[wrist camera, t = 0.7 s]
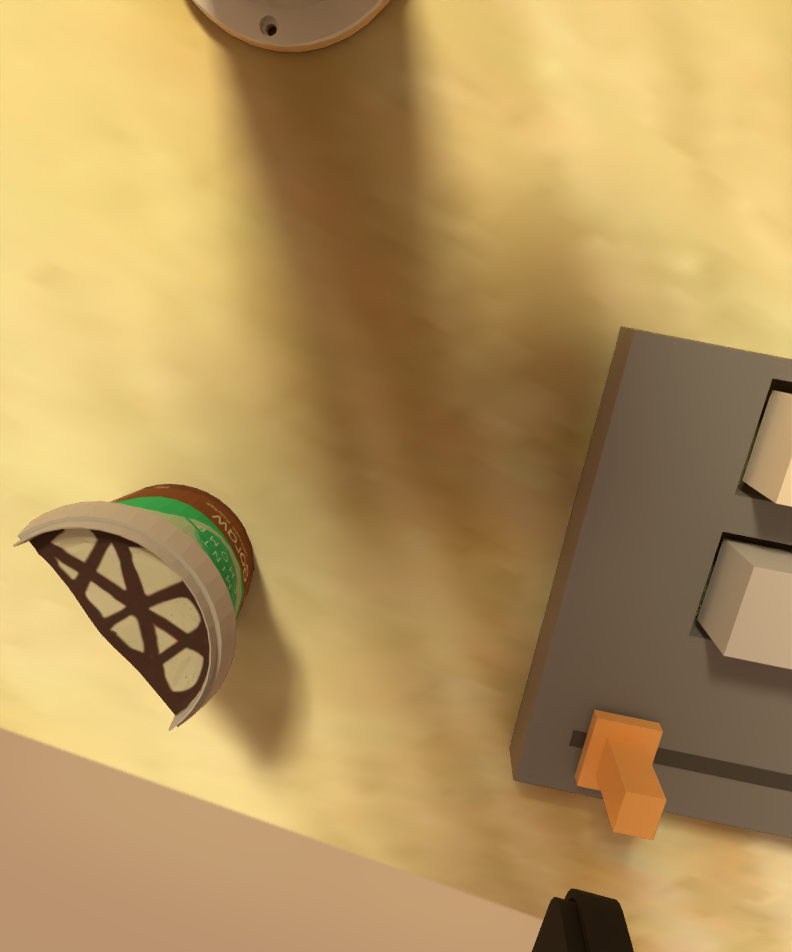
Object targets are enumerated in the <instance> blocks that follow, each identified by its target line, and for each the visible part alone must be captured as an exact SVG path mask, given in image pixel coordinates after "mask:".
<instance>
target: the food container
mask: <svg viewBox="0 0 792 952" xmlns="http://www.w3.org/2000/svg"><path fill="white" fill-rule="evenodd" d="M18 537H19V538H20V539H21V540H20V541H18V542H17V543H16V544H14V545H13V546H14V547H15V546H17V545H20V544H22V543H25V542H27V541H30V543H31V544H32V545H33V546H34V548H35V549H36V550H37V552H38V554H39V555H40V556H42V557H43V558H44V559H45V560H46V561H47V562H48V563H49V564H50V565H51V566H52V568H53V569H54V570H55V571H56V573H57V574H58V575H59V576H60V577H61V579H62V580H63V581H64V582H65V584H66V585H67V586H68V587H69V589H70V590H71V592H72V593H73V594H74V596H75V597H76V599H77V600H78V602H79V603H80V605H81V606H82V608H83V609H84V611H85V612H86V614H87V615H88V617H89V618H90V620H91V621H92V622H93V624H94V625H95V626H96V628H97V629H98V631H99V632H100V633H101V634H102V636H103V637H104V638H105V639H106V640H107V641H108V642H109V643H110V644H111V645H112V646H113V647H114V648H115V649H116V650H117V651H118V652H119V653H120V654H121V655H123V656H124V657H125V658H126V659H127V660H128V661H129V662H130V663H131V664H132V665H133V666H134V667H135V668H136V669H137V670H138V671H139V672H140V673H141V675H142V676H143V677H144V678H145V679H146V681H147V682H148V683H149V684H150V685H151V686H152V688H153V689H154V690H155V691H156V692H157V694H158V695H159V696H160V697H161V698H162V700H163V701H164V702H165V703H166V704H167V706H168V707H169V708H170V709H171V711H172V712H173V713H174V714H175V717H174V719H173V721H172V723H171V725H170V727H169V731H170V730H172V729H173V728H174V727H175V726H177V727H179V726H180V725H181V724H183V723H184V722H185V721H187V720H188V719H189V718H190V717H192V716H193V715H194V714H195V713H196V712H197V711H198V710H199V709H200V708H202V707H203V706H204V705H205V704H206V703H207V702H208V701H209V699H210V698H211V697H212V696H213V695H214V694H215V693H216V692H217V690H218V689H219V687H220V685H221V684H222V682H223V681H224V679H225V677H226V675H227V673H228V670H229V668H230V665H231V663H232V659H233V654H234V650H235V644H236V622H235V621H236V618H237V616H238V614H239V611H240V609H241V607H242V604H243V602H244V600H245V597H246V595H247V593H248V590H249V586H250V582H251V578H252V574H253V570H254V566H253V554H252V545H251V542H250V540H249V538H248V535H247V533H246V530H245V528H244V526H243V525H242V523H241V522H240V520H239V519H238V517H237V516H236V515H235V514H234V513H233V512H232V510H231V509H230V508H229V507H227V506H226V505H225V504H224V503H223V502H221V501H220V500H219V499H217V498H215V497H214V496H212V495H210V494H209V493H207V492H204V491H202V490H199V489H197V488H193V487H189V486H185V485H176V484H163V485H155V486H151V487H146V488H144V489H141V490H139V491H136V492H134V493H131V494H129V495H126V496H124V497H121V498H119V499H116V500H114V501H111V502H103V501H97V502H80V503H75V504H70V505H66V506H62V507H59V508H57V509H54V510H51V511H49V512H46V513H44V514H42V515H41V516H39V517H38V518H36V519H34V520H33V521H31V522H30V523H29V524H28V525H27V526H26V527H25V528H24V529H23V531H22V532H21V533H20V534H19V535H18Z"/></svg>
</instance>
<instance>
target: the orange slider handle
mask: <svg viewBox="0 0 792 952" xmlns="http://www.w3.org/2000/svg"><path fill="white" fill-rule="evenodd" d="M662 733H663V730H662V728H661V726H660V724H659V723H657V722H652V721H647V720H643V719H638V718H633V717H628V716H623V715H618V714H613V713H608V712H604V711H599V710H594V713H593V716H592V719H591V723H590V726H589V730H588V733H587V736H586V740H585V743H584V746H583V750H582V753H581V757H580V760H579V763H578V767H577V770H576V774H575V780H576V784H577V786H580V787H585V788H590V789H595V790H600V791H601V793H602V796H603V800H604V803H605V807H606V810H607V813H608V817H609V820H610V824H611V827H612V830H613V832H616V833H621V834H626V835H630V836H635V837H640V838H645V839H649V840H653V839H654V836H655V833H656V830H657V827H658V824H659V821H660V818H661V815H662V812H663V809H664V806H665V803H666V797H665V795H664V792H663V790H662V788H661V785H660V783H659V780H658V778H657V776H656V773H655V771H654V769H653V766H652V764H653V761H654V758H655V755H656V752H657V749H658V746H659V742H660V739H661V736H662Z"/></svg>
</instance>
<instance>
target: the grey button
mask: <svg viewBox="0 0 792 952" xmlns="http://www.w3.org/2000/svg"><path fill="white" fill-rule="evenodd" d="M697 620H698V621H699V623H700V624H701V625H702V627H703V628H704V630H705V631H706V632H707V634H708V635H709V636H710V638H711V639H712V640H713V642H714V643H715V645H716V646H717V647H718V649H719V650H720V651H721V653H722V654H723V655H724V656H728V657H733V658H738V659H743V660H747V661H752V662H757V663H762V664H767V665H772V666H777V667H782V668H787V669H792V552H791V551H786V550H781V549H776V548H771V547H766V546H761V545H756V544H751V543H746V542H741V541H736V540H731V539H726V538H723V541H722V544H721V548H720V551H719V554H718V557H717V560H716V563H715V566H714V569H713V572H712V575H711V578H710V581H709V584H708V587H707V590H706V593H705V596H704V599H703V603H702V606H701V609H700V612H699V615H698V618H697Z"/></svg>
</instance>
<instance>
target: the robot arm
mask: <svg viewBox="0 0 792 952" xmlns="http://www.w3.org/2000/svg"><path fill="white" fill-rule="evenodd" d="M192 1H193V2H194V3H195V4H196V6H197V7H198V8H199V9H200V10H201V11H202V12H203V13H204V14H205V15H206V16H207V17H208V18H209V19H210V20H211V21H213V22H214V23H215V24H217V25H218V26H219V27H221V28H222V29H223V30H225V31H226V32H227V33H229V34H230V35H232V36H234V37H236V38H238V39H240V40H242V41H244V42H246V43H249V44H251V45H253V46H256V47H261V48H265V49H269V50H273V51H279V52H304V51H309V50H314V49H319V48H324V47H327V46H329V45H332V44H334V43H336V42H339V41H341V40H343V39H346V38H348V37H350V36H351V35H352V34H354V33H355V32H357V31H358V30H360V29H361V28H362V27H364V26H365V25H367V24H368V23H370V21H371V20H372V19H373V18H374V17H375V16H376V15H377V14H378V13H379V12H380V11H381V10H382V9H383V8H384V7H385V6H386V5H387V4H388V3H389V1H390V0H192ZM271 27H276V28H277V32H276V33H275V34H274V35H273V36H269V35H268V31H269V29H270V28H271ZM532 952H634V951H633V947H632V943H631V940H630V936H629V932H628V929H627V925H626V922H625V918H624V914H623V911H622V908H621V906H620V903H619V902H618V901H617V900H615V899H611V898H608V897H604V896H600V895H596V894H592V893H589V892H585V891H581V890H577V889H570V891H569V892H568V893H567V895H566V897H565V899H561V898H557V897H554V898H553V899H552V900H551V902H550V904H549V906H548V909H547V912H546V915H545V917H544V920H543V923H542V926H541V928H540V931H539V934H538V937H537V939H536V942H535V945H534V947H533V950H532Z"/></svg>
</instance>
